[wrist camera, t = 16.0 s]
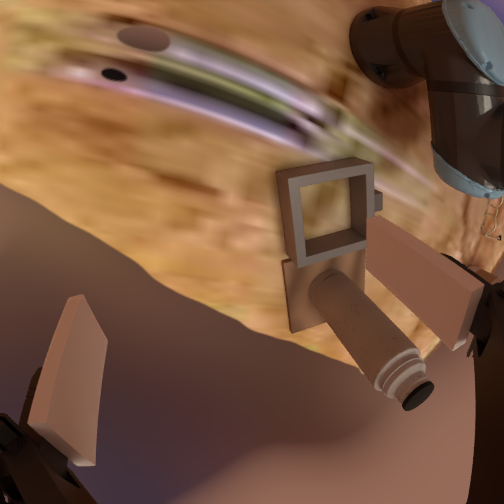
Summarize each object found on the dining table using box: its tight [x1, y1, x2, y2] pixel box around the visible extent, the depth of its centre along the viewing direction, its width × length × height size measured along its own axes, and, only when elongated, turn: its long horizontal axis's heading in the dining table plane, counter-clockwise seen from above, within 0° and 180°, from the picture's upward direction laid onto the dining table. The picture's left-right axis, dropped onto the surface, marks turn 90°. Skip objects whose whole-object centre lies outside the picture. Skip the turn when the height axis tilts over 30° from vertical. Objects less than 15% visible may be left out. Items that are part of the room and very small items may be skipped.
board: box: [282, 248, 366, 334], centre depth 56 cm, size 16×16×1 cm
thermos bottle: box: [309, 269, 434, 411], centre depth 43 cm, size 8×8×28 cm
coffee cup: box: [467, 265, 504, 285], centre depth 63 cm, size 11×11×15 cm
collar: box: [276, 157, 383, 268], centre depth 47 cm, size 16×14×5 cm
